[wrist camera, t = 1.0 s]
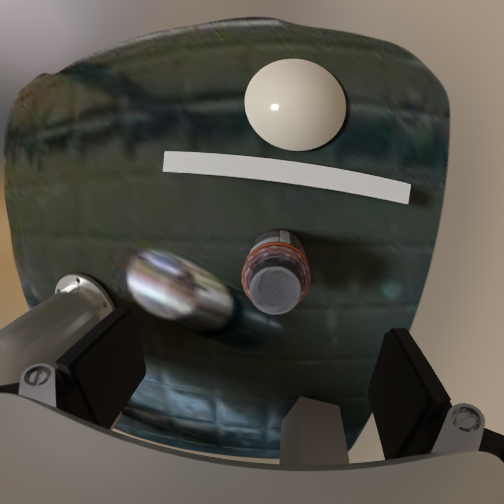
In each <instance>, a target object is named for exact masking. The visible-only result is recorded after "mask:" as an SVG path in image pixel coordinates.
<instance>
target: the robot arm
mask: <svg viewBox="0 0 504 504" xmlns="http://www.w3.org/2000/svg"><path fill="white" fill-rule="evenodd" d="M145 374H146V366H145V362H144V357H143V352H142V347H141V342H140V337H139V332H138V326H137V321H136V316H135V315H134V314H132V311H131V310H129V309H123V308H115V306H114V304H113V302H112V300H111V298H110V297H109V295H108V294H107V292H106V291H105V290H104V289H103V288H102V287H101V286H100V285H99V283H97V282H96V281H95V280H93V279H92V278H90V277H89V276H87V275H84V274H81V273H72V274H68V275H67V276H65V277H63V278H62V279H61V280H60V281H59V283H58V284H57V286H56V290H55V295H53V296H52V297H50V298H48V299H47V300H45V301H44V302H42V303H40V304H39V305H37V306H36V307H34V308H32V309H31V310H29V311H28V312H26V313H25V314H23V315H22V316H20V317H19V318H17V319H16V320H14V321H13V322H11V323H9V324H8V325H7V326H5V327H4V328H2V329H0V504H504V435H501V434H499V433H496V432H493V431H491V430H488V429H486V428H484V426H485V419H484V416H483V414H482V413H481V411H480V410H479V409H478V408H476V407H475V406H473V405H470V404H466V403H461V404H457V405H454V406H452V405H451V403H450V400H451V399H450V397H449V395H448V394H447V392H446V390H445V389H444V387H443V385H442V383H441V382H440V380H439V379H438V377H437V375H436V374H435V372H434V370H433V369H432V367H431V366H430V364H429V363H428V361H427V359H426V358H425V356H424V355H423V353H422V351H421V350H420V348H419V347H418V345H417V344H416V342H415V341H414V339H413V338H412V336H411V335H410V333H409V332H408V330H407V329H406V328H392V329H390V331H389V332H387V333H386V334H385V336H384V339H383V342H382V346H381V350H380V353H379V356H378V360H377V363H376V366H375V369H374V372H373V375H372V378H371V381H370V384H369V387H368V397H369V401H370V404H371V408H372V411H373V414H374V418H375V422H376V426H377V429H378V433H379V437H380V441H381V445H382V449H383V453H384V457H385V460H383V461H374V462H363V463H352V464H336V465H280V464H265V463H253V462H242V461H235V460H228V459H221V458H215V457H209V456H203V455H198V454H193V453H188V452H184V451H179V450H175V449H171V448H167V447H163V446H159V445H155V444H152V443H148V442H145V441H141V440H138V439H135V438H132V437H129V436H126V435H123V434H120V433H117V432H114V431H111V430H109V429H110V428H111V426H112V425H113V423H114V422H115V420H116V419H117V417H118V416H119V414H120V413H121V411H122V410H123V408H124V407H125V405H126V404H127V402H128V401H129V399H130V398H131V396H132V395H133V393H134V392H135V390H136V389H137V387H138V386H139V384H140V383H141V381H142V380H143V378H144V376H145Z"/></svg>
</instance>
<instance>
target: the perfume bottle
mask: <svg viewBox="0 0 504 504" xmlns="http://www.w3.org/2000/svg"><path fill="white" fill-rule="evenodd" d="M336 464H349V458H348V451H347V446H346V440H345V434H344V429H343V423H342V418H341V413H340V407H339V406H338V405H334V404H329V403H325V402H321V401H317V400H313V399H309V398H306V397H302V396H300V397H299V399H298V400H297V402H296V403H295V404H294V406H293V407H292V408H291V410H290V411H289V412H288V414H287V415H286V416H285V418H284V419H283V420H282V422H281V443H280V465H336Z"/></svg>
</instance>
